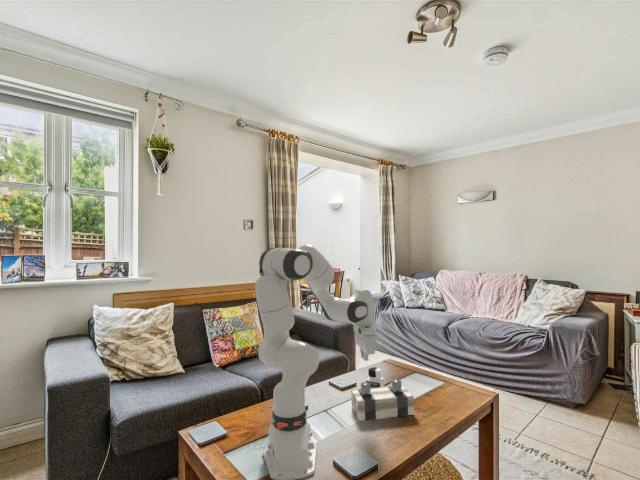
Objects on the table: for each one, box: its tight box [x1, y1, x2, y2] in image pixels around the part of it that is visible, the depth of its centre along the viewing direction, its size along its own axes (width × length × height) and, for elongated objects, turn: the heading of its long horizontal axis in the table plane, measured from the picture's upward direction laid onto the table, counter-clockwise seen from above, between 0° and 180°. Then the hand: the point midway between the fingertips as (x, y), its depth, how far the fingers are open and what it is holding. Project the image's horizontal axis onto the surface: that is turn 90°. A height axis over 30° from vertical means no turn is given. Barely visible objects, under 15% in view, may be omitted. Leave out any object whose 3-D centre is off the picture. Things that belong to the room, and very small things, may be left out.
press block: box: [350, 384, 415, 422], centre depth 148 cm, size 12×24×8 cm, turn 98°
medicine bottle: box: [365, 367, 385, 388], centre depth 167 cm, size 7×7×12 cm
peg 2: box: [391, 378, 402, 394], centre depth 149 cm, size 4×4×7 cm
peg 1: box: [360, 381, 371, 397], centre depth 147 cm, size 4×4×7 cm
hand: (364, 359), depth 147 cm, fingers open, 2 cm apart
